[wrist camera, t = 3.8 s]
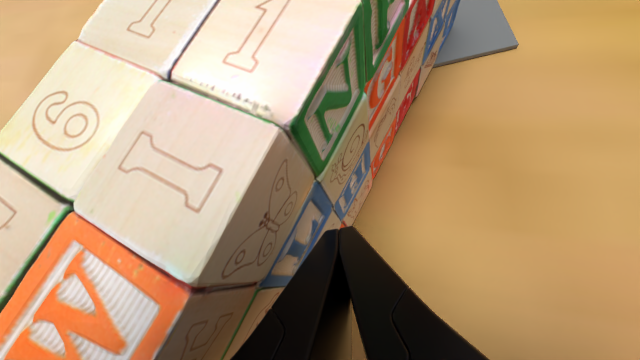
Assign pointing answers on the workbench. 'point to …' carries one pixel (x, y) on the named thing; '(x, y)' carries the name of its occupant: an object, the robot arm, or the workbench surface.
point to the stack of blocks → (195, 166)
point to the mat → (476, 32)
